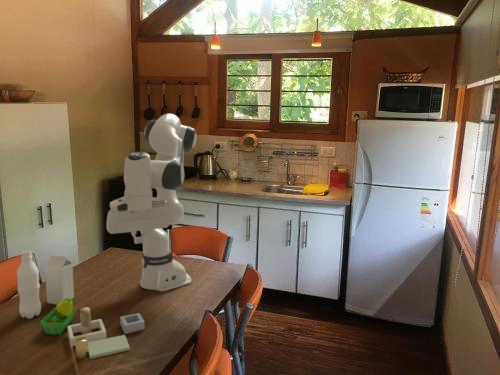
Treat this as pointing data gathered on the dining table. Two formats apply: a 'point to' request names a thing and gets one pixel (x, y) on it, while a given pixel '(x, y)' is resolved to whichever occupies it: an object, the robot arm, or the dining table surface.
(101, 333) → the tray
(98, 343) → the plate board
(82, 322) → the dowel
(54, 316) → the fruit basket
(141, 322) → the socket block
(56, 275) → the milk carton
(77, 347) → the cylinder
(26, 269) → the water bottle
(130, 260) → the dining table surface
